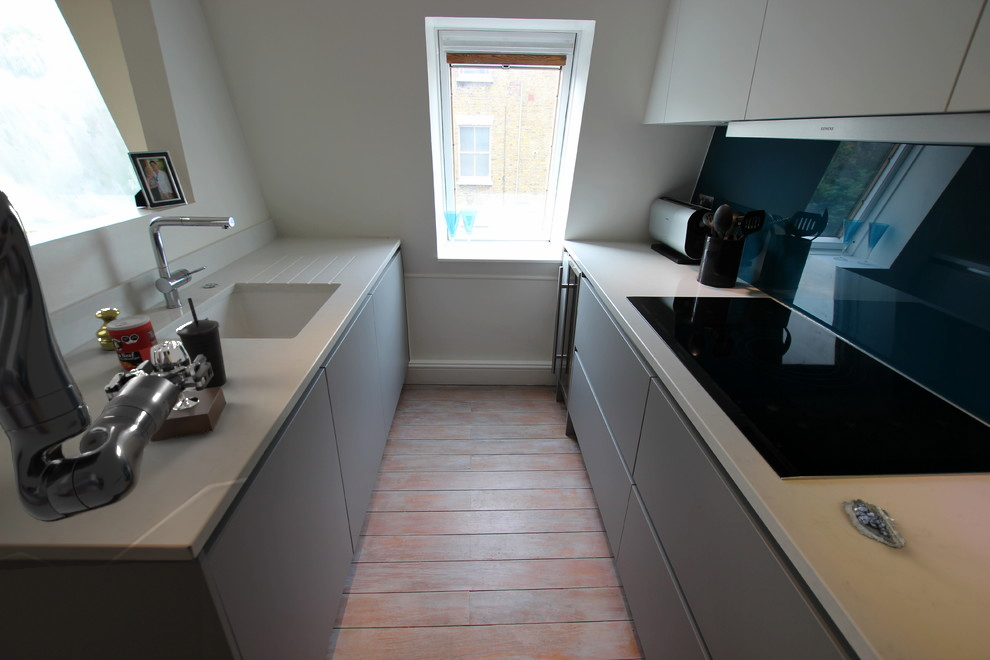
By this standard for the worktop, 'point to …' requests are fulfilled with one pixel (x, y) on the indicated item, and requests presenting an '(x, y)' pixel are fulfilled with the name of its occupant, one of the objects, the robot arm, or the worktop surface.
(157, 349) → the wineglass
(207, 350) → the drinking cup
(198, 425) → the walnut block
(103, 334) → the brass candlestick
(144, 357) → the canned food
